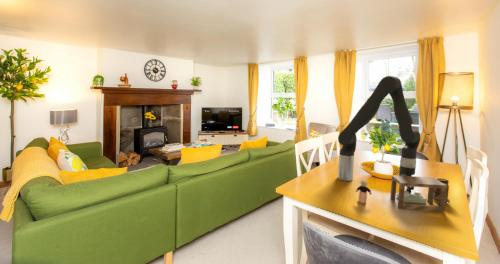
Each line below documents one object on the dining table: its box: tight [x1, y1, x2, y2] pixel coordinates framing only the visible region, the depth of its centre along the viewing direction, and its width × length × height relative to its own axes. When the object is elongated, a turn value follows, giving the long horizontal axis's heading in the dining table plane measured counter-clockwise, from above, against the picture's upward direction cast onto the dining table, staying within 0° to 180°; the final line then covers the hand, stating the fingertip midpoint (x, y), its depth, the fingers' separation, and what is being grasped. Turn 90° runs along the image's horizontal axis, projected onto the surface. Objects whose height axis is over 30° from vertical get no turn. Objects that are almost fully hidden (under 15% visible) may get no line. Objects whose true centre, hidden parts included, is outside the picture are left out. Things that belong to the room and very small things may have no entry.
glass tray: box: [396, 190, 428, 205], centre depth 132 cm, size 12×6×5 cm, turn 80°
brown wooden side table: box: [389, 175, 447, 213], centre depth 127 cm, size 20×12×14 cm, turn 79°
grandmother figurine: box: [355, 179, 372, 205], centre depth 130 cm, size 8×4×13 cm, turn 66°
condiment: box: [433, 177, 451, 205], centre depth 132 cm, size 7×8×12 cm
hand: (404, 192), depth 140 cm, fingers open, 8 cm apart
